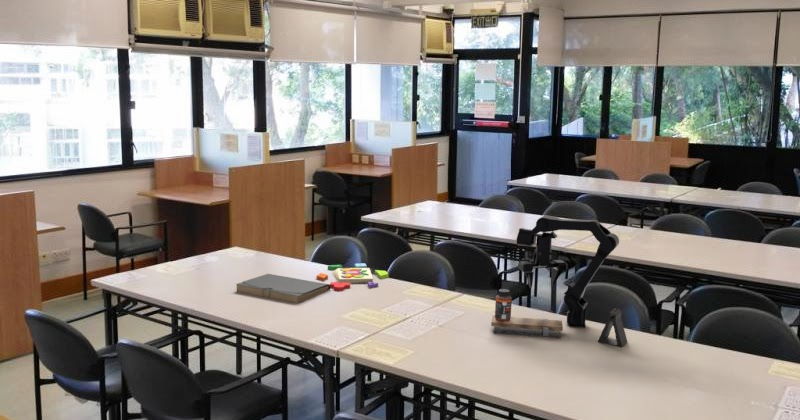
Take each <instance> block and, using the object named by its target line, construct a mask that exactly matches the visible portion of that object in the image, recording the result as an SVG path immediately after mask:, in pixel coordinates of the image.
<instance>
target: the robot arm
mask: <svg viewBox="0 0 800 420" xmlns="http://www.w3.org/2000/svg"><path fill="white" fill-rule="evenodd" d="M560 230H561V231H580V232H582V231H585V232H591V234H592V235H593V236H594V238H595V239H596V240H597V242H598V243H599V245H598V246H597V249H596V253H595V254H594V256H593V257H592V259H591V260H590V262H589V264H588V265H587V266H586V268H585V270H584V272H583V273H582V274H581V276H580V277H579V279H578V280H577V282H576V283H575V282H574V281H572V282H571V283H570V284H569V285H568V288H567V290H566V291H565V292H564V293H563V295H564V296H563V301H564V303H565V305H566V306H567V309H568V310H567V311H566V324H567V326H568V327H572V328H574V327H575V328H584V329H585V328H586V327H587V326H586V318H587V317H586V316H587V309H586V308H587V306H588V301H587V300H586V299H585V297H584V295H585V291H586V289H587V286H588V285H589V283H590V282H591V280H593V277H594V276H595V274H596V273H597V271H598V270H599V268H600V266H601V265H602V264H603V263H604V261H605V259H606V258H607V257H608V256H609V255H610V254H611V253H612V252H613V251H614V250H615V249H616V248H617V247H618V246H619V244H620V239H619V237H618V235H616V234H615V233H612V232H611V231H610V230H609V229H608V228H606V227H605V226H604V225H602V223H600V221H599V220H597V219H571V218H570V219H565V218H559V217H556V216H553V215H547V214H546V215H543V216H541V217H540V218H538V219H537V220H536V222H535V226H534V227H533V228H532V229H528V228H523V227H520V228H519V229H518V233H517V235H516V236H517V237H516V245H517V246H524V247H529V248H532V247H533V246H534V245H536V246H535V249H534V251H533V252H532V251H531V250H530V251H528V250H527V251H525V253H524V259H525V260H524V261H519V262H518V264H517V269H518V270H520V271H521V272H523V273H524V275H525V277H526V280H527V283H528V287H529V288H530V289H532V287H533V281H534V272H535V271H534V269H548V268H550V270H551V279H550V286H551V287H552V288H553V287H554V285H555V284H556V282H557V281H558V279H559V277H560V276H561V275H562V273H564V272H565V271H567V270H568V263H567V262H565V261H564V260H562V259H553V260H551V259H552V257H551V256H552V255H553V251H552V243H553V242H552V241H553V239H556V238H558V235H557V234H556V233H555V231H560ZM527 260H529V261H527Z"/></svg>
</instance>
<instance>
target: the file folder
mask: <svg viewBox="0 0 800 420" xmlns="http://www.w3.org/2000/svg"><path fill="white" fill-rule="evenodd" d="M330 289H331V288H330V284H328V283H324V282H319V281H318V282H317V281H312V280H308V279H307V280H305V279H302V278H295V277H290V276H289V277H288V276H283V275H277V274H272V273H266V274H263V275H260V276H257V277H253V278H250V279H248V280H243V281H242V282H239V283H236V292H238V293H243V294H247V295H248V294H249V295H252V296H253V295H254V296H260V297H266V298H269V299H277V300H283V301H288V302H292V303H296V304H299V303H302V302H305V301H307V300H309V299H312V298H314V297H316V296H318V295H321V294H323V293H326V292H328V291H331V290H330Z"/></svg>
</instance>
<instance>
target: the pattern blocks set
mask: <svg viewBox="0 0 800 420" xmlns="http://www.w3.org/2000/svg"><path fill="white" fill-rule="evenodd" d="M370 269H371V268H370V267H368V266H367V264H366V263H364V262H363V263H362V262H361V263H354V267H344V266H343V265H342V264H331V265H328V266H327V270H328V271H329V270H331V271H332V273H331V274H332V276H334V278H335V280H336V281H332V282H330V284H329V285H330V289H333V290H334V291H337V292H341V291H345V290H346V289H350V288H351V284H359V283H360V284H361V283H367V287H368V289H372V288H377V287H379V282H374V278H373V275H372V270H370ZM374 275H376V276H377V277H378V278H379V279H380V280H383V279H387V278H389V273H388V272H387V271H386V270H379V269H375V270H374ZM328 278H329V275H328V274H327V273H322V272H320V273H318V274H317V275H316V279H317V280H318V281H322V282H325V281H326V280H327V279H328Z"/></svg>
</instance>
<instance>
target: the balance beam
mask: <svg viewBox="0 0 800 420" xmlns="http://www.w3.org/2000/svg"><path fill="white" fill-rule="evenodd" d="M546 319H547V318H542V319H541V318H531V317H529V318H528V317H520V316H519V317H516V316H511V319H510V320H509V321H499V320H496V319H495V315H492V317H491V322H490V324H491V327H494V326H498V327H511V328H524V329H537V330H543V327H548V328H549V330H550V331H559V332H563V330H564V327H563V325H564V324H563V320H560V319H559V320H555V319H548V320H546Z"/></svg>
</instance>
